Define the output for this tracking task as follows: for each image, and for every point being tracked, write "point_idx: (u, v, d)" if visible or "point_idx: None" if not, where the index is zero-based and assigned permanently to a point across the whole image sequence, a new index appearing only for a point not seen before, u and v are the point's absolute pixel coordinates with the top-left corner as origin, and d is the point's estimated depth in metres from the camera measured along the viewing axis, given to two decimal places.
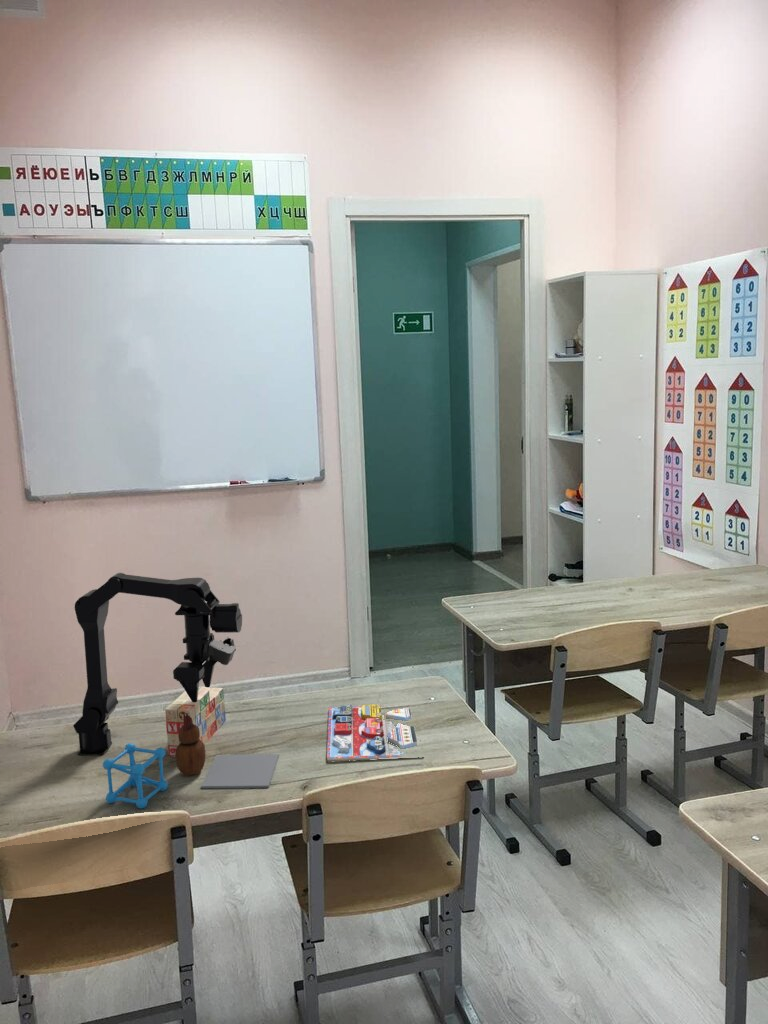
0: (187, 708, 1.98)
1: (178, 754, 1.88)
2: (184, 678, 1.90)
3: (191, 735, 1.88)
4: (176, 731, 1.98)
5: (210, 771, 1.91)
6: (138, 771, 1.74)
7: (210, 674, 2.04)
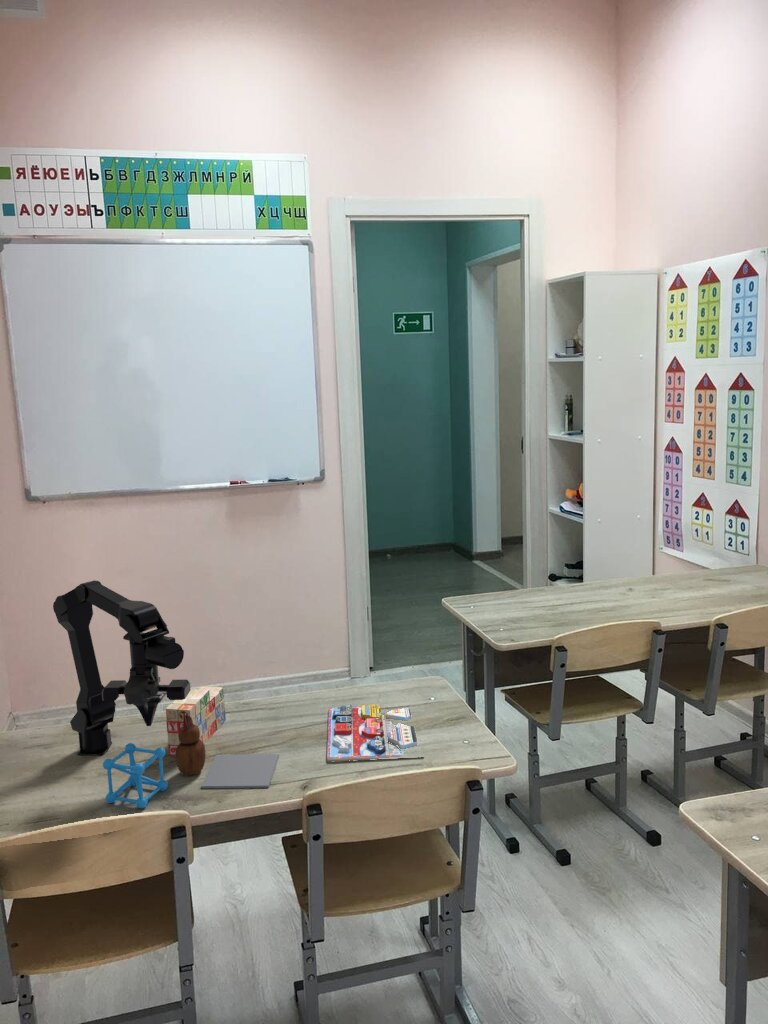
0: (187, 707, 1.98)
1: (178, 754, 1.88)
2: None
3: (191, 735, 1.88)
4: (177, 730, 1.99)
5: (210, 771, 1.91)
6: (138, 771, 1.74)
7: None
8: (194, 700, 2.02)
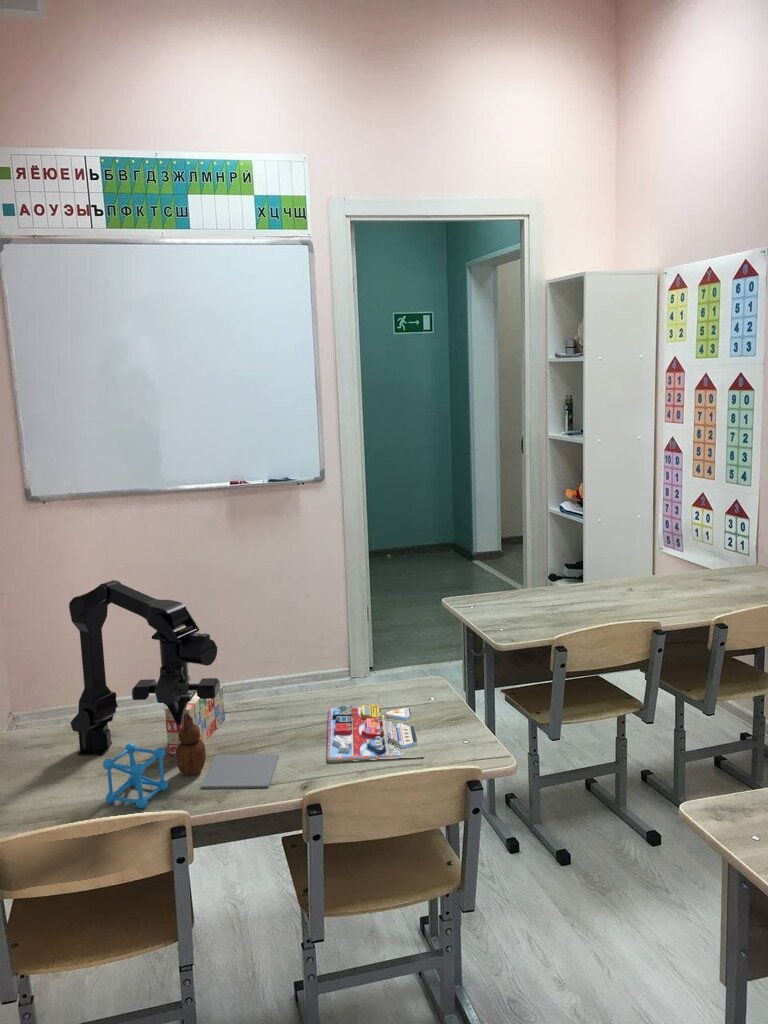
0: (187, 707, 1.99)
1: (178, 754, 1.88)
2: None
3: (191, 735, 1.88)
4: (176, 730, 1.99)
5: (210, 771, 1.91)
6: (138, 771, 1.74)
7: (178, 712, 1.88)
8: (193, 699, 2.02)
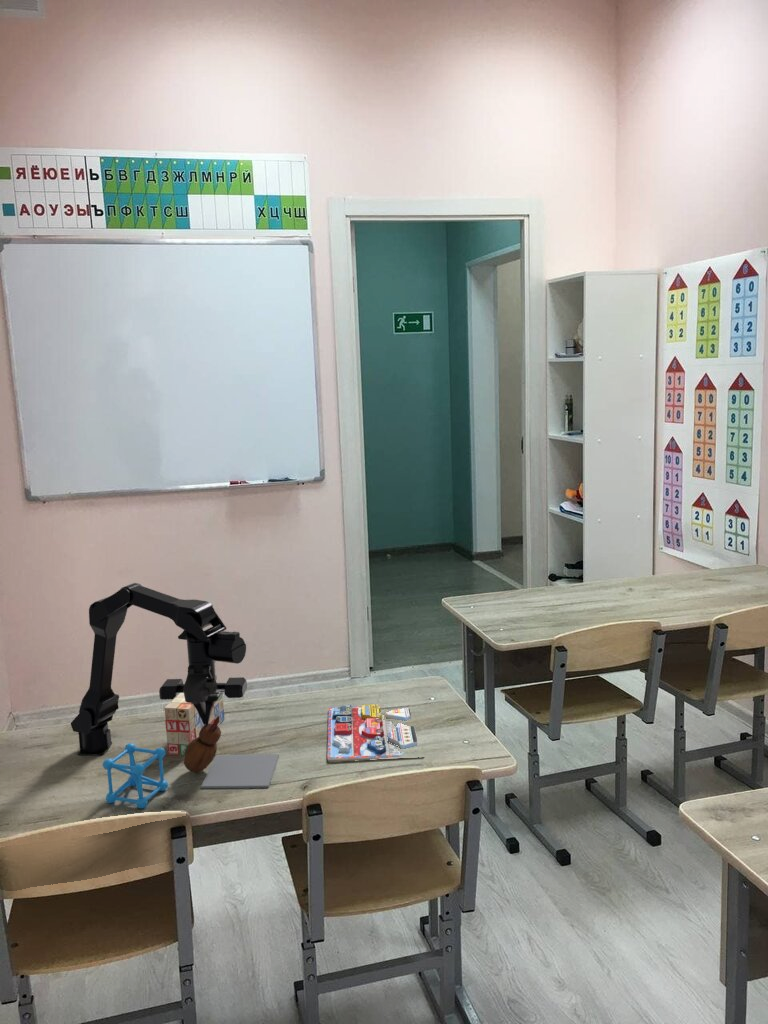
0: (186, 706, 1.99)
1: (192, 749, 1.88)
2: None
3: (213, 737, 1.88)
4: (176, 729, 1.99)
5: (210, 771, 1.91)
6: (138, 771, 1.74)
7: None
8: None
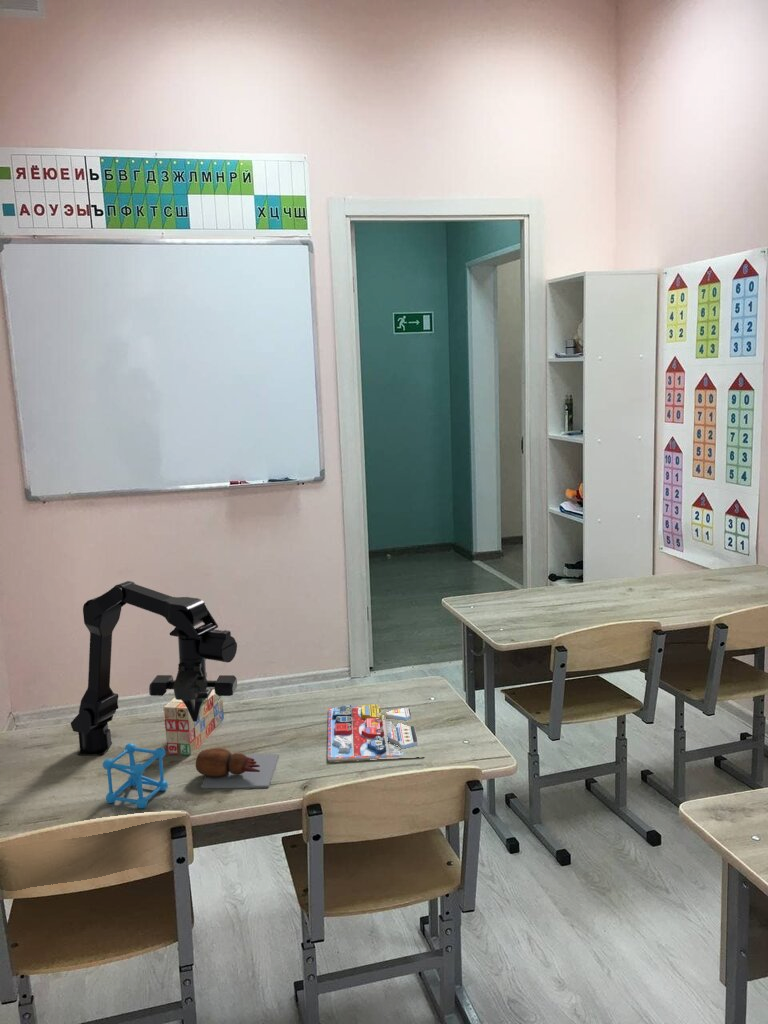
0: None
1: (217, 767, 1.85)
2: None
3: None
4: (175, 729, 2.00)
5: None
6: (138, 771, 1.74)
7: (194, 709, 1.88)
8: None
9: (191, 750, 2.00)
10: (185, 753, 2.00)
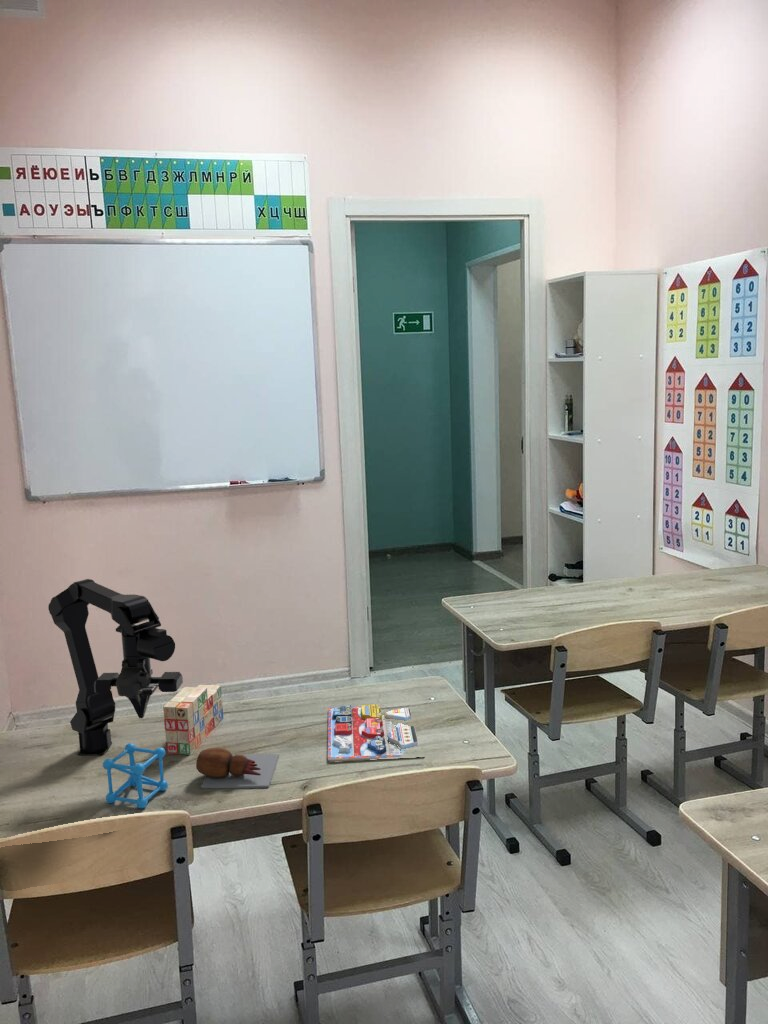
0: (185, 705, 2.00)
1: (217, 768, 1.85)
2: None
3: (239, 775, 1.87)
4: (174, 728, 2.00)
5: None
6: (138, 771, 1.74)
7: None
8: (192, 698, 2.03)
9: (190, 750, 2.01)
10: (184, 753, 2.01)
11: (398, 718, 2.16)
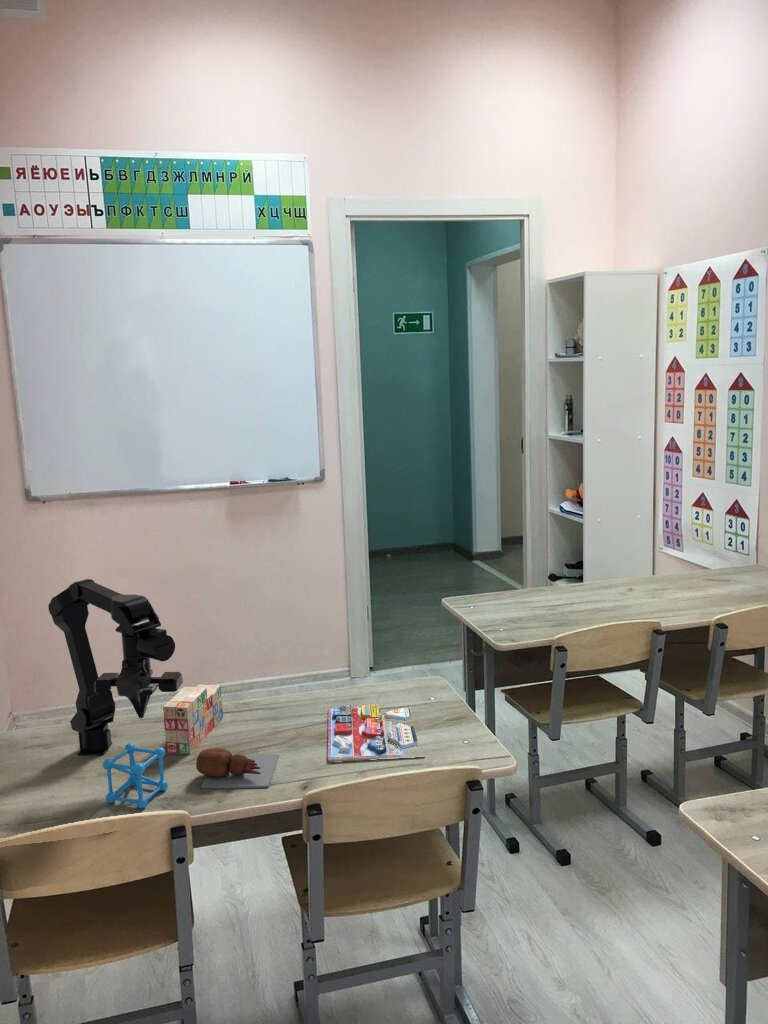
0: (185, 705, 2.00)
1: (217, 767, 1.85)
2: None
3: None
4: (174, 728, 2.00)
5: None
6: (138, 771, 1.74)
7: None
8: (191, 698, 2.04)
9: (190, 749, 2.01)
10: (184, 752, 2.01)
11: (398, 718, 2.16)
